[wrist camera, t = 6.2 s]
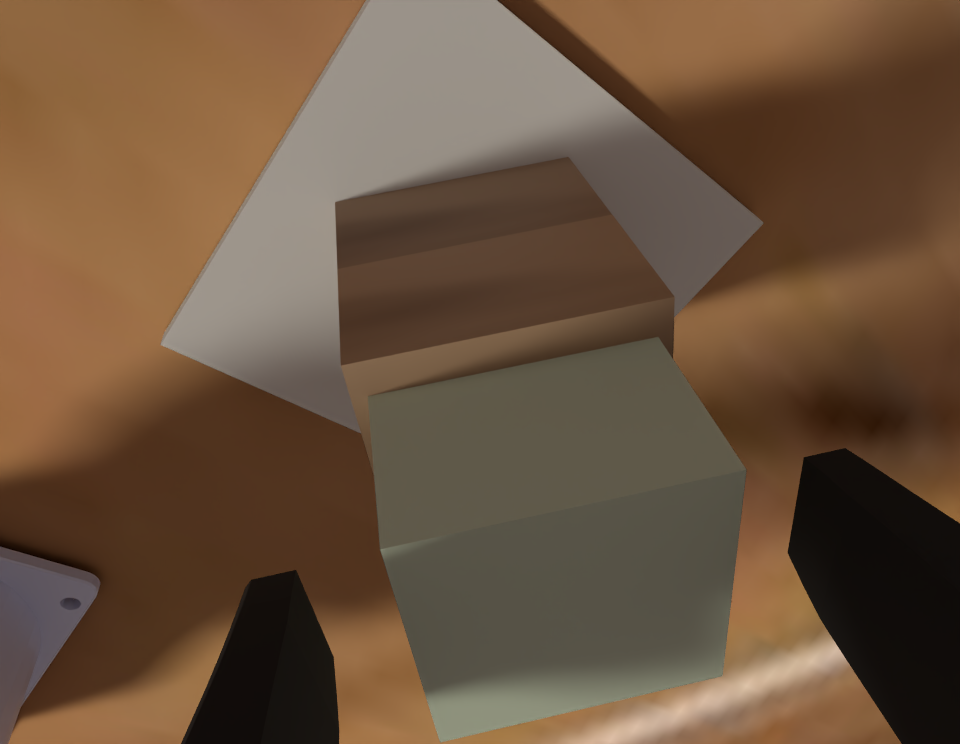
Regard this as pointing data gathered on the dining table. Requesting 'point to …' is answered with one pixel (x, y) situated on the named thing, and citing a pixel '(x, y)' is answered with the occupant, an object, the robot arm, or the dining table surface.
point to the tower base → (463, 211)
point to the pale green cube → (556, 534)
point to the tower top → (495, 307)
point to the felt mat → (429, 182)
